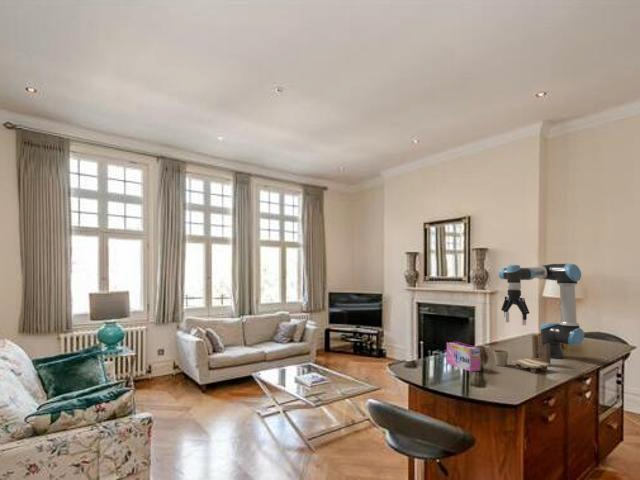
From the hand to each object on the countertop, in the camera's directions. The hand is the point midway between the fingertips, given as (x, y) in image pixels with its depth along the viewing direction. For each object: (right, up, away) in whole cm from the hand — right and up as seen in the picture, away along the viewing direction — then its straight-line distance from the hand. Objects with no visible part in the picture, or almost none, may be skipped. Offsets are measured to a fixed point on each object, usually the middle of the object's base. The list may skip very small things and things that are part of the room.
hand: (515, 323), depth 242 cm
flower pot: (-6, -28, +6) cm, 29 cm away
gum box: (-32, -28, +2) cm, 42 cm away
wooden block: (+20, -28, +8) cm, 35 cm away
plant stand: (+7, -27, -6) cm, 28 cm away
